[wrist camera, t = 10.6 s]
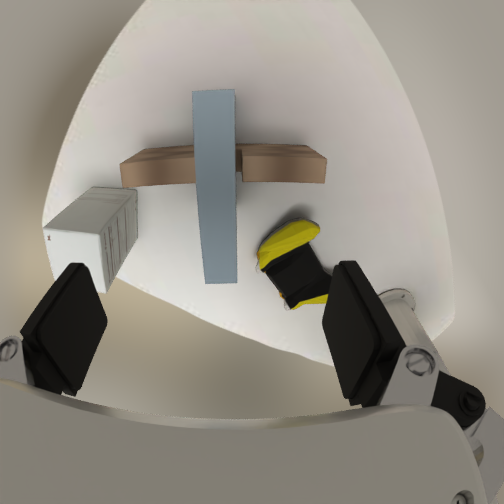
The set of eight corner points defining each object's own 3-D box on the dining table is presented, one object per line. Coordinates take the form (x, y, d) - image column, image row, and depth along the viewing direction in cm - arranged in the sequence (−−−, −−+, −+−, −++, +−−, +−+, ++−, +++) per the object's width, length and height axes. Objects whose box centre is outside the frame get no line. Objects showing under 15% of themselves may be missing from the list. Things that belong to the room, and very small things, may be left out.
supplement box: (94, 233, 35) (53, 284, 25) (91, 185, 32) (40, 226, 21) (139, 238, 36) (107, 296, 26) (139, 189, 33) (98, 234, 22)
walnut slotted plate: (306, 145, 31) (327, 158, 24) (305, 164, 32) (324, 183, 26) (144, 149, 30) (119, 164, 23) (145, 168, 31) (122, 187, 24)
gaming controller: (304, 201, 35) (241, 238, 38) (315, 218, 31) (242, 260, 33) (345, 277, 42) (291, 305, 45) (356, 299, 37) (297, 329, 40)
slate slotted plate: (236, 206, 35) (237, 283, 21) (216, 206, 35) (205, 283, 21) (235, 96, 28) (234, 89, 14) (213, 97, 28) (192, 91, 14)
